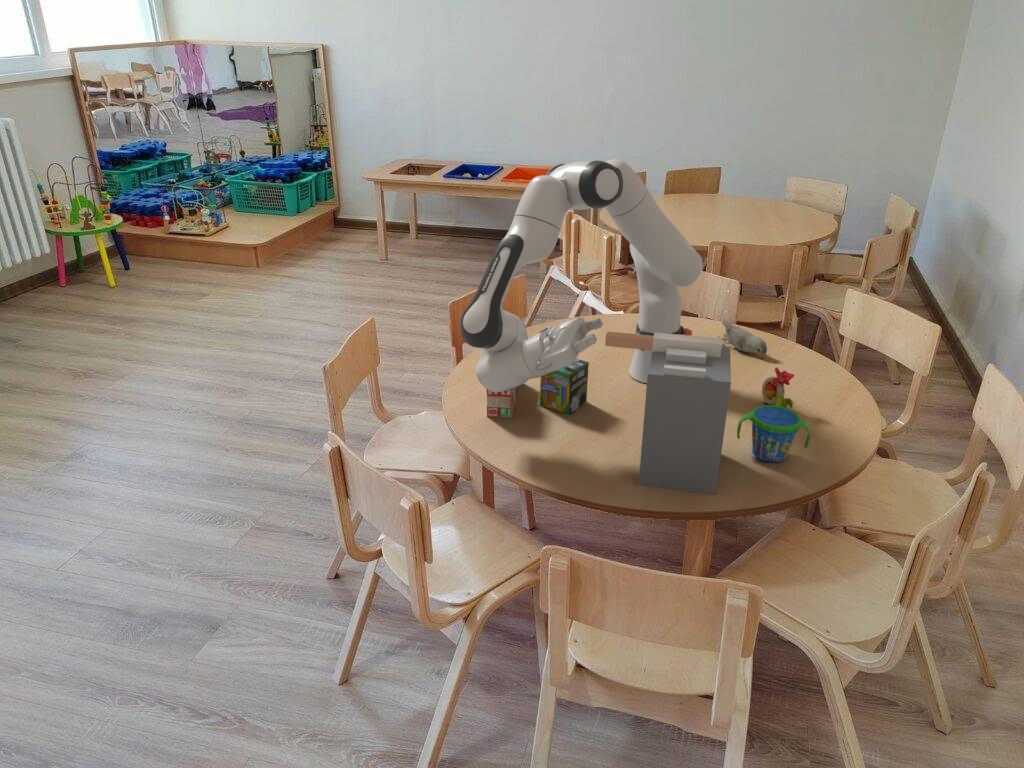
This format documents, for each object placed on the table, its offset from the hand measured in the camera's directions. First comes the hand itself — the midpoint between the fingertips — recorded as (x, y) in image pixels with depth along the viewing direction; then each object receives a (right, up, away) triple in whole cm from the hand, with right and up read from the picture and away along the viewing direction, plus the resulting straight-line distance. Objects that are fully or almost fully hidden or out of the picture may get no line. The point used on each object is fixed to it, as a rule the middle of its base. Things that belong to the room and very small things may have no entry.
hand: (598, 329), depth 166 cm
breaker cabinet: (+18, -30, +5) cm, 35 cm away
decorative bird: (+49, -2, +63) cm, 80 cm away
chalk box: (-5, -17, +32) cm, 37 cm away
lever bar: (+13, -4, -1) cm, 14 cm away
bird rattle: (+48, -18, +31) cm, 60 cm away
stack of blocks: (-21, -16, +35) cm, 44 cm away
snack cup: (+40, -28, +10) cm, 50 cm away
